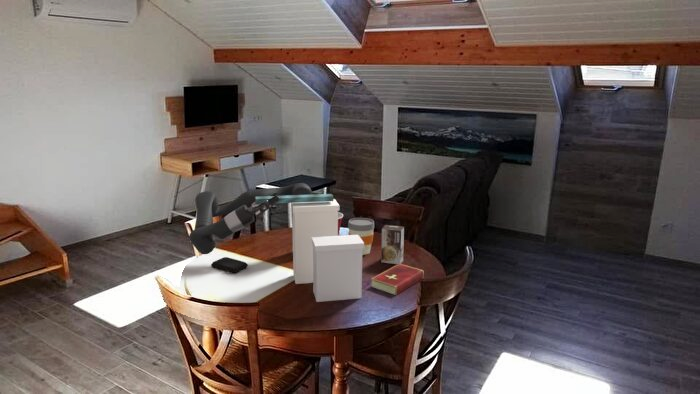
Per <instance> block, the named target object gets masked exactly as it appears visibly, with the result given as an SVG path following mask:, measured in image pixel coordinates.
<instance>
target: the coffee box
mask: <svg viewBox="0 0 700 394" xmlns="http://www.w3.org/2000/svg"><path fill="white" fill-rule="evenodd" d="M404 242H405V226H401V225H391V224H385V225H384V226H383V227H382V228H381V250H380V251H381V254H380V255H381V258H380V259H381V261H380V262H381V263H384V264H385V263H386V264H391V265H392V264H394V265H398V264H399V263H400V264H403V262H404Z"/></svg>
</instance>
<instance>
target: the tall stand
mask: <svg viewBox="0 0 700 394" xmlns="http://www.w3.org/2000/svg"><path fill="white" fill-rule="evenodd" d="M290 207H291V209H292V211H293V242H292V256H293V257H292V259H293V262H292V264H293V266H292V267H293V268H292V269H293V270H292V271H293V274H292V275H293V279H294V283H295V285H299V284H312V283H313V245H312V237H324V236H338V212H339V211H340V207H341V206H340V204H339V203H338V202H337V200H336V199H335V198H333V201H325V202H300V203H290ZM292 211H291V212H292Z"/></svg>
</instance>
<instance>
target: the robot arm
mask: <svg viewBox="0 0 700 394" xmlns="http://www.w3.org/2000/svg"><path fill="white" fill-rule="evenodd" d="M286 195H314V194H313V191H312V189H311V187H310V186H309V185H308V184H306V183H304V182H303V183H302V182H299V183H294V184H290V185H285V186H281V187H269V188H267V187H266V188H257V189H250V190H246V191H244V192H242V193H241V194H239V195H238V196H237V197H235V199H233V200H232V201H230V202H229V203H226V204H225V203H224V204H222V205H219V203H218V199H217V195H216V193H214V192H213V191H210V190H209V191H208V190H207V191H202V192H199V193H198V194H196V196H195V200H194V201H195V207H196V218H195V224H194V229H193V230H192V231H191V232H190V233H189V235H188V240H189V242H190V243H191V244H192V246H193V247H194V248H195V249H196V250H197V251H198V253H199V254H202V255H209V254H211V253H212V252H213V251H214V250H215V247H216V243H217V242H216V241H217V240H216V237H217V238H218V239H220V240H224V239H226V238H228V237H230V236H231V235H232V234H235V233H236V232H238V231H241V230H243V229H244V228H245V227H248V225H251V224H252V223H254V222H255V217H254V216H256V217H259V216H261V215H262V214H263V213H265V212H266V211H268V210H270V209H271V208H272V207H274V206H276V205H279V204H280V203H275V202H277V201H279V198H278V196H286ZM258 196H274V197H272V198H270V199H269V200H267V201H265V202H261V203H259V204H256V197H258ZM222 216H224V217H222ZM218 217H222V218H221V219H219V220H217V221H215V222H214V218H218ZM291 227H292V229H291V230H292V231H291V232H292V233H291V234H292V241H291V243H293V211H291ZM215 236H216V237H215Z"/></svg>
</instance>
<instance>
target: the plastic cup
mask: <svg viewBox="0 0 700 394" xmlns="http://www.w3.org/2000/svg"><path fill="white" fill-rule="evenodd" d="M343 217H344V214H343V213H342V212H339V211H338V236H340V230H341V225H342V220H343Z"/></svg>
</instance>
